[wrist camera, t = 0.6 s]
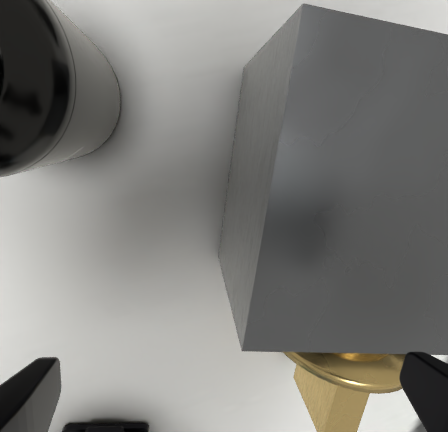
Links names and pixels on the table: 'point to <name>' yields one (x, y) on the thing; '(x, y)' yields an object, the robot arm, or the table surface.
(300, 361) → the end cover
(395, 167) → the block
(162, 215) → the table surface
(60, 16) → the supplement bottle
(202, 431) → the table surface
